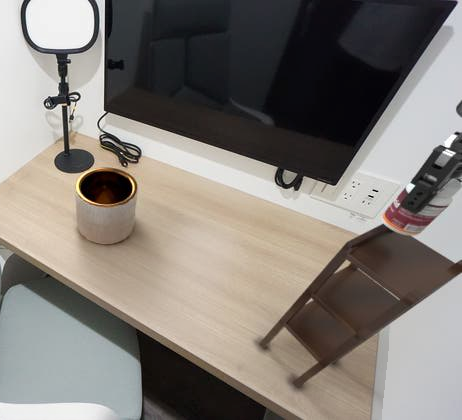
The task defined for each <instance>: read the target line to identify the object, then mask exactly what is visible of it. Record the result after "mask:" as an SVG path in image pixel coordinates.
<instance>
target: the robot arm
mask: <svg viewBox="0 0 462 420" xmlns="http://www.w3.org/2000/svg"><path fill="white" fill-rule="evenodd" d="M455 111H456V114H457V115H458V116H459V117H460V118H462V99H461V100H460V102H458V103H457V105H456V107H455ZM430 176H433V177H435V178H436V179H437V181H434V180H432V179H430V178H429V177H430ZM454 179H457V180H458V181H459V182H460V183H461V184H462V131H461V132H460V131H457V130H456V131H455V132H453V133H452V134H451V135H450V136H449V137H448V138H447V139H446V140H445V141H444V145H443V144H439V145H437V146H436V147H434V148H433V149H432V152H431V153H430V154H429V156H427V159H425V161H424V163H423V164H422V165H421V166H420V168H419V170H418V171H417V172H416V174H415V175H414V177H412V178H411V181H410V183H411V184H413V185H415V187H414V188H413V189H412V190H411V191H410V192H409V194H408V195H407V196H406V197H405V198H404V199H403V200H402V202H401V203H400V206H401V207H402V208H404V209H406V210H408V211H410V212H411V213H414V214H417V213H419V212H421V211H422V210H423V209H424V208H425V207H426V206H427V205H428V204H429V203H430V202H431V201H432V200H433V199H434V198H435V197H436V196H437V195H438V194H439V193H440V192H442V191H444V190H445V189H444V188H445V187H447V186H448V185H449V184H450V183H451V182H452V181H453V180H454ZM410 183H409V184H410Z"/></svg>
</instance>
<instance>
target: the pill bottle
mask: <svg viewBox="0 0 462 420" xmlns="http://www.w3.org/2000/svg"><path fill="white" fill-rule="evenodd" d="M429 178H430V179H432V180H434V181H437V179H436V178H435V177H433V176H430V177H429ZM414 187H415V185H413V184H411V183H408V184H407V185H405V187H404V189H402V191H401V192H400V193H399V194H398V195H397V197H396V198H394V200H393V201H392V202H391V204H390V205H389V206H388V207H387V208H386V210H385V211H384V212H383V213H382V214H381V216H380V221H381V222H382V224H383V223H384V225H385V226H387V227H388V228H389V229H391V230H393V231H395V232H397V233H399V234H403V235H408V236H412V237H413V236H418V235H420V234H421V233H422V232H424V230H426V228H427V227H428V226H429V225H430V224H432V223H433V221H435V220H436V218H438V217H439V216H440V215H441V214H442V213H443V212H444V211H446V209H447V208H448V207H449V206H450V205H451V204H452V202H453V197H454V196H455V195H457V193H458V192H459V191H460V190H461V189H462V182H461V183H460V182H459V181H458V180H457V179H454V180H453V181H452V182H451V183H450V184H449V185H448V186H447V187H445V188H444V189H445V190H444V191H442V192H440V193H439V194H438V195H437V196H436V197H435V198H434V199H433V200H432V201H431V202H430V203H429V204H428V205H427V206H426V207H425V208H424V209H423V210H422V211H421V212H419V213H417V214H414V213H411V212H410V211H408V210H406V209H404V208H402V207H401V206H400V203H401V202H402V200H403V199H404V198H405V197H406V196H407V195H408V194H409V192H410V191H411V190H412V189H413V188H414Z"/></svg>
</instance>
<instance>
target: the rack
mask: <svg viewBox="0 0 462 420" xmlns="http://www.w3.org/2000/svg"><path fill="white" fill-rule="evenodd" d="M346 261H348V262H349V264H348V265H347V266H345V267H343V268H342V269H340V270H339V268H340V267H341V266H343V264H344V263H345V262H346ZM461 274H462V259H459V260H458V261H456V262H454V261H453V260H451V259H449V258H448V257H446V256H444V255H443V254H442V253H440V252H438V251H437V250H435V249H434V248H431V247H430V246H428V245H427V244H425V243H424V242H422V241H420V240H418V239H417V238H416V237H413V236H408V235H403V234H399V233H397V232H395V231H393V230H391V229H389V228H388V227H387V226H385V225H384V223H383V222H382V223H381V224H379V225H377V226H375V227H373V228H371V229H369V230H367V231H365V232H364V233H361V234H360V235H357V236H356V237H354V238H352V239H350V240H348V241H346V242H345V243H344V245H343V246H342V247H341V248H340V249H339V250H338V251H337V252H336V254H335V255H334V256H333V257H332V258H331V260H330V261H329V262H328V263H327V264H326V266H324V267H323V269H322V270H321V272H319V274H318V275H317V276H316V277H315V278H314V279H313V280H312V282H311V283H310V284H309V285H308V286H307V287H306V288H305V290H303V292H302V293H301V294H300V295H299V296H298V298H297V299H296V300H295V301H294V302H293V304H292V305H291V306H290V307H289V308H288V309H287V310H286V312H284V314H283V315H282V316H281V318H280V319H279V320H278V321H277V322H276V323H275V324H274V325H273V327H272V328H271V329H270V330H269V331H268V332H267V334H265V336H264V337H263V338H262V339H261V341H260V342H259V343H258V345H259V346H260V347H261V349H265V348H267V347H268V345H270V343H271V342H272V341H273V340H274V339H275V338H276V337H277V336H278V335H279V334H280V333H281V331H282V330H283V329H284V328H285V329H286V330H287V332H289V333H290V334H291V336H292V337H293V338H294V339H295V340H296V341H297V342H298V343H299V344H300V345H301V346H302V347H303V348H304V349H305V350H306V352H308V353H309V354H310V355H311V356H312V358H314V360H316V361H317V363H316V364H314V365H313V366H311V367H310V368H309V369H307V370H306V371H305V372H303V373H301V375H299V376H298V377H297V378H296V379H294V380H293V381H292V382H291V383H292V384H293V385H294V387H295V388H296V389H297V388H298V389H299V387H301V386H302V385H304V384H305V383H307V382H308V381H310V380H311V379H313V377H315V376H317V374H319V373H320V372H322V371H324V370H325V369H326V368H327V367H329V366H330V365H334V364H335V363H337V362H338V361H340V360H341V359H342V358H344V357H345V356H347V355H348V354H349V353H351V352H352V351H354V350H355V349H356V348H358V347H359V346H361V345H362V344H363V343H365V342H367V341H368V340H369V339H370V338H372V337H374V336H375V335H376V334H377V333H379V332H381V331H382V330H383V329H385V328H386V327H388V326H389V325H391V324H392V323H393V322H396V320H398V319H399V318H400V317H402V316H403V315H405V314H406V313H407V312H409V311H410V310H412V309H413V308H415V307H416V306H417V305H419V304H420V303H422V302H423V301H424V300H426V299H427V298H429V297H430V296H432V295H433V294H435V292H437V291H438V290H440V289H441V288H443V287H444V286H445V285H447V284H448V283H449V282H451V281H453V280H454V279H456V278H457V277H458V276H460V275H461ZM311 299H312V300H311ZM310 300H311V301H310Z"/></svg>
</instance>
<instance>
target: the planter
mask: <svg viewBox="0 0 462 420" xmlns="http://www.w3.org/2000/svg"><path fill="white" fill-rule="evenodd" d="M138 191H139V186H138V183H137V180H136V179H135V177H134V176H133V175H131V173H129V172H127V171H125V170H124V169H121V168H115V167H108V166H107V167H106V166H105V167H104V166H103V167H96V168H93V169H90V170H87V171H85V172H84V173H82V174H81V175H80V176H79V177H78V178H77V180H76V181H75V184H74V192H75V193H74V194H75V216H76V217H75V218H76V219H75V221H76V227H77V230H78V231H79V232H80V235H82V237H84V238H85V239H87V240H88V241H90V242H92V243H95V244H101V245H111V244H117V243H119V242H121V241H124V240H125V239H126V238H128V237H129V236H130V235H131V233H132V231H133V230H134V226H135V219H136V211H137V201H138V193H139V192H138Z"/></svg>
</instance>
